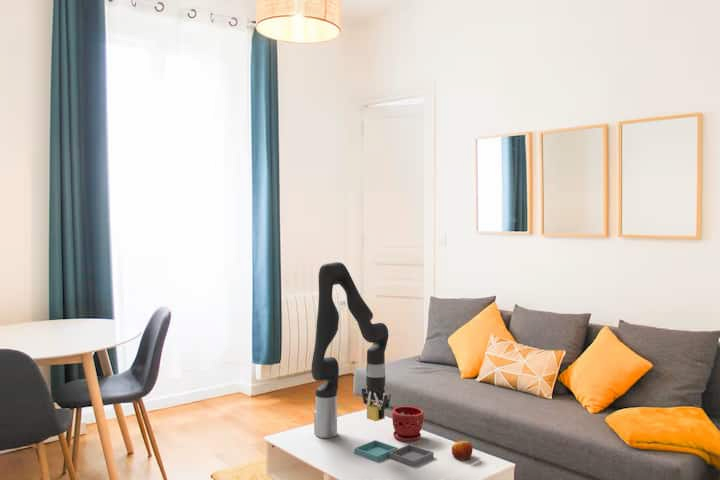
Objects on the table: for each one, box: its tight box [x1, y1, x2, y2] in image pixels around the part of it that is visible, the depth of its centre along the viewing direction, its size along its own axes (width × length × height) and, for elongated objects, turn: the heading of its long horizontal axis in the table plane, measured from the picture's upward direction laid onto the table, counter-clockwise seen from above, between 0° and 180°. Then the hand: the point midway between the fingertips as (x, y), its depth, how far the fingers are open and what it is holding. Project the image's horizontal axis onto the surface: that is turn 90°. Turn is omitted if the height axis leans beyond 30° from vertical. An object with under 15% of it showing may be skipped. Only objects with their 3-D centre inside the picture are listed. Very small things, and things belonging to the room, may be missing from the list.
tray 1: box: [353, 439, 399, 462], centre depth 238 cm, size 12×12×2 cm
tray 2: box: [388, 444, 435, 468], centre depth 233 cm, size 12×12×2 cm
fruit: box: [451, 440, 474, 461], centre depth 233 cm, size 8×8×8 cm
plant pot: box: [391, 406, 424, 442], centre depth 255 cm, size 13×13×12 cm
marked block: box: [366, 402, 386, 422], centre depth 238 cm, size 5×5×5 cm
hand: (375, 416), depth 238 cm, fingers closed on marked block, 5 cm apart
